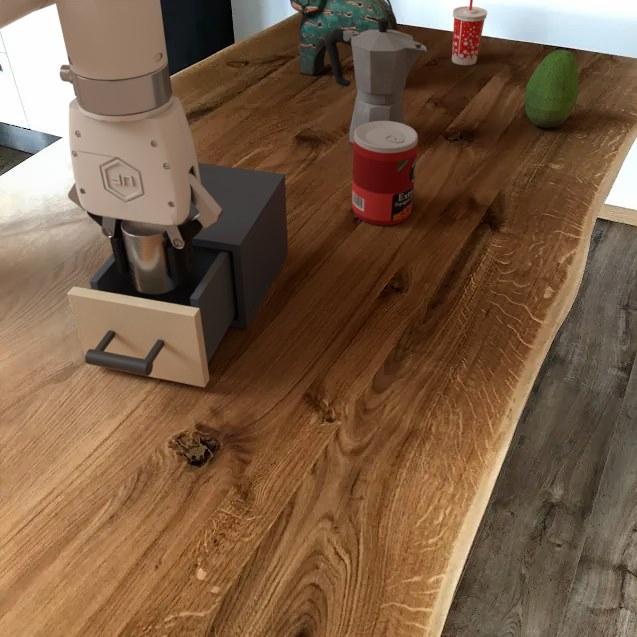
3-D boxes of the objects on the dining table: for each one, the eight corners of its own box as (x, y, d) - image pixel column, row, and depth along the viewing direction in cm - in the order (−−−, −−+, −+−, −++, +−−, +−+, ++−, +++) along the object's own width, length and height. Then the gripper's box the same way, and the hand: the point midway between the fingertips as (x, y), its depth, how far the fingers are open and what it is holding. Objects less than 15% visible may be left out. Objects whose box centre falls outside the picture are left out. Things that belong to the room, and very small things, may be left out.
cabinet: (247, 329, 78) (240, 245, 71) (129, 308, 81) (111, 225, 74) (288, 253, 89) (285, 173, 82) (183, 237, 92) (171, 159, 85)
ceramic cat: (288, 74, 133) (285, -46, 120) (306, 62, 138) (304, -54, 125) (388, 94, 126) (395, -30, 113) (403, 82, 130) (412, -40, 117)
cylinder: (139, 299, 68) (127, 241, 64) (127, 272, 72) (115, 215, 67) (189, 286, 70) (180, 229, 66) (174, 260, 73) (166, 204, 69)
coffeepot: (427, 133, 114) (439, 14, 103) (407, 159, 107) (417, 35, 96) (337, 116, 119) (338, 0, 108) (312, 140, 113) (311, 19, 101)
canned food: (403, 231, 93) (409, 152, 86) (343, 220, 95) (344, 141, 88) (418, 202, 98) (425, 125, 91) (361, 192, 100) (364, 116, 93)
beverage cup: (486, 60, 138) (498, -19, 129) (469, 69, 135) (479, -11, 126) (459, 52, 141) (468, -25, 132) (441, 61, 138) (449, -18, 129)
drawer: (187, 419, 67) (175, 347, 61) (64, 393, 69) (41, 321, 64) (252, 302, 80) (246, 234, 74) (146, 284, 83) (133, 217, 77)
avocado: (580, 130, 115) (599, 53, 107) (541, 140, 112) (557, 62, 105) (547, 111, 120) (562, 37, 113) (508, 120, 118) (521, 45, 110)
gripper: (2, 92, 57) (56, 279, 69) (204, 116, 54) (225, 309, 65) (53, 58, 63) (95, 236, 74) (239, 78, 59) (253, 262, 71)
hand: (155, 268), depth 70 cm, fingers closed on cylinder, 4 cm apart
